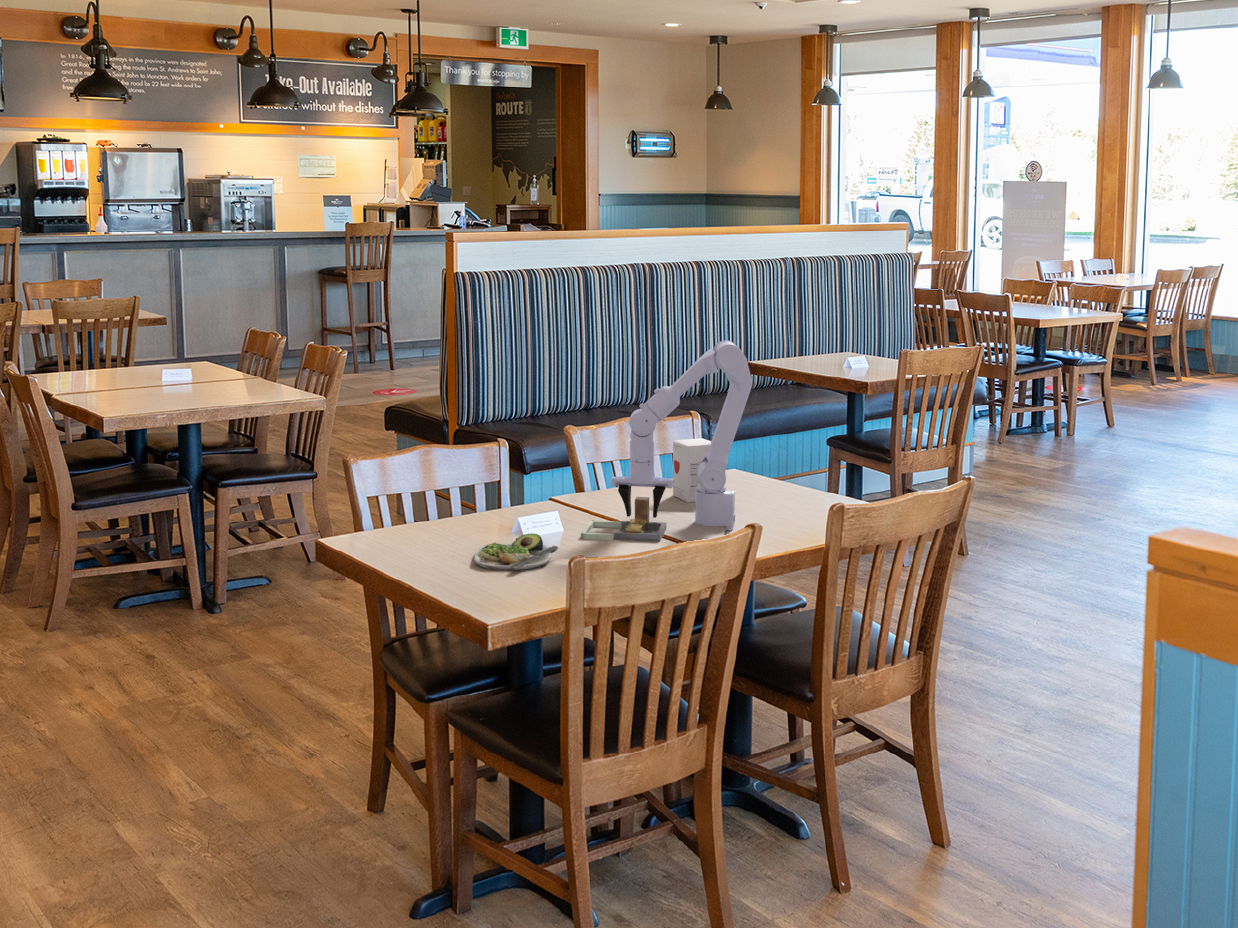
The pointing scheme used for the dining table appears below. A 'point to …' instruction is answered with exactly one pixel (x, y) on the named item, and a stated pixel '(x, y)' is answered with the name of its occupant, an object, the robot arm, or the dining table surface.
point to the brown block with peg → (642, 508)
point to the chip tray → (600, 536)
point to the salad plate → (515, 553)
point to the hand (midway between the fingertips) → (642, 516)
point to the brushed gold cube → (639, 521)
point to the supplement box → (687, 466)
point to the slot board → (651, 534)
